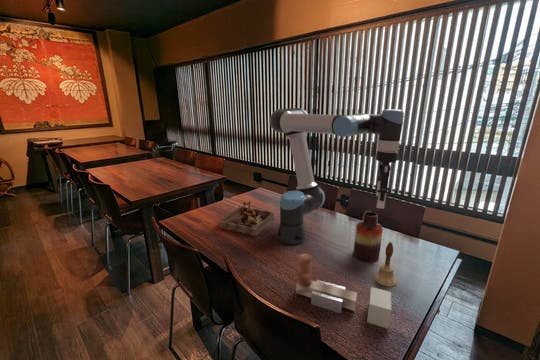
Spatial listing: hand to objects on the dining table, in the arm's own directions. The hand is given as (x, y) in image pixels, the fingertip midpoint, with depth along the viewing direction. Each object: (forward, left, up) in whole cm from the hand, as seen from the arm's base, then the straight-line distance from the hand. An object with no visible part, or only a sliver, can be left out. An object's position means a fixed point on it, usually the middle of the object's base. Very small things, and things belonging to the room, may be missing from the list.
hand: (379, 201), depth 104 cm
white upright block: (+3, -34, -26) cm, 43 cm away
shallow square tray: (-67, +7, -26) cm, 72 cm away
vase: (-3, 0, -27) cm, 27 cm away
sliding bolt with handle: (-14, -34, -25) cm, 45 cm away
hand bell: (+5, -14, -27) cm, 31 cm away
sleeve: (-13, -34, -26) cm, 45 cm away
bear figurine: (-66, +7, -27) cm, 72 cm away
